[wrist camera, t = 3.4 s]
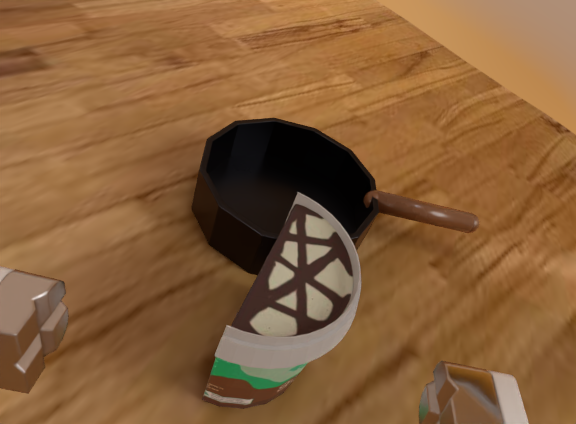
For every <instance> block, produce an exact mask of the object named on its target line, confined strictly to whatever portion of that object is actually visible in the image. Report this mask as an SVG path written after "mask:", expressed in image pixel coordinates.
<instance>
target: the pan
mask: <svg viewBox="0 0 576 424" xmlns="http://www.w3.org/2000/svg"><path fill="white" fill-rule="evenodd" d="M298 192H299V193H301V194H303V195H305V196H307V197H309V198H310V199H312V200H313V201H315V202H317V203H318V204H320V205H321V206H322V207H323V208H325V209H326V210H327V211H328V212H329V213H331V214H332V215H333V216H334V217H335V218H336V219H337V221H338V222H339V223H340V224H341V225H342V226H343V228H344V229H345V230H346V232H347V233H348V235H349V237H350V238H351V240H352V242H353V244H354V246H355V249H356V250H357V249H358V247H359V246H360V244H361V243H362V241H363V239H364V237H365V236H366V234H367V232H368V230H369V229H370V227H371V225H372V223H373V222H374V220H375V218H376V216H377V215H378V213H383V214H388V215H392V216H396V217H401V218H405V219H409V220H414V221H418V222H422V223H427V224H431V225H435V226H439V227H444V228H448V229H452V230H457V231H461V232H465V233H472V232H474V231H476V230H477V229H478V227H479V219H478V217H477V216H476V215H474V214H472V213H469V212H464V211H460V210H456V209H452V208H448V207H444V206H439V205H435V204H431V203H427V202H423V201H419V200H414V199H410V198H406V197H402V196H398V195H393V194H389V193H385V192H381V191H377V190H376V184H375V179H374V178H373V177H372V175H371V174H370V173H369V172H368V170H367V169H366V168H365V167H364V165H363V164H362V163H361V162H360V160H359V159H358V158H357V157H356V155H355V154H354V153H353V151H352V150H350V149H349V148H347V147H345V146H344V145H342V144H340V143H339V142H337V141H335V140H334V139H332V138H331V137H329V136H327V135H326V134H324V133H322V132H321V131H319V130H317V129H315V128H312V127H308V126H304V125H300V124H296V123H292V122H289V121H285V120H281V119H277V118H265V119H253V120H241V121H234V122H233V123H231V124H230V125H228V126H227V127H225V128H223V129H222V130H220V131H219V132H217V133H216V134H214V135H213V136H211V137H209V138H208V139H207V141H206V145H205V149H204V153H203V157H202V161H201V165H200V169H199V174H198V179H197V184H196V189H195V193H194V198H193V203H192V211H193V213H194V215H195V217H196V219H197V221H198V223H199V225H200V227H201V229H202V231H203V233H204V235H205V237H206V239H207V242H208V244H209V245H210V246H212V247H213V248H214V249H216V250H217V251H219V252H220V253H221V254H223V255H224V256H226V257H227V258H229V259H230V260H231V261H233V262H234V263H236V264H237V265H239V266H240V267H241V268H243V269H244V270H246V271H247V272H249V273H251V274H256V275H258V274H259V272H260V270H261V268H262V266H263V264H264V262H265V260H266V258H267V256H268V255H269V253H270V251H271V249H272V247H273V245H274V244H275V242H276V240H277V238H278V236H279V234H280V232H281V230H282V228H283V226H284V225H285V222H286V220H287V217H288V215H289V212H290V210H291V208H292V205H293V203H294V200H295V198H296V195H297V193H298Z"/></svg>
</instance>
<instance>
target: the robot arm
mask: <svg viewBox="0 0 576 424" xmlns="http://www.w3.org/2000/svg"><path fill="white" fill-rule="evenodd" d="M65 294H66V290H65V284H64V282H63V281H61V280H57V279H53V278H49V277H45V276H41V275H36V274H32V273H28V272H24V271H20V270H16V269H15V270H14V269H10V268H6V267H2V266H0V388H1V389H6V390H12V391H17V392H23V393H28V394H29V392H30V390H31V389H32V387H33V386H34V384H35V383H36V381H37V379H38V378H39V376H40V375H41V373H42V372H43V370H44V368H45V362H44V357H45V356H46V355H48V354H50V353H52V352H54V351H55V350H56V349H57V348H58V346H59V344H60V343H61V341H62V339H63V337H64V334H65V331H66V328H67V325H68V317H69V315H68V308H67V306H66V305H65V304H64V303H63V302H62V301H61V300H62V298H63V297H64V295H65ZM433 373H434V381H432V382H430V383H428V384H426V386H425V389H424V391H423V393H422V396H421V400H420V405H419V424H529V422H528V419H527V416H526V412H525V409H524V405H523V402H522V398H521V395H520V392H519V388H518V385H517V381H516V379H515V378H514V377H513V375H508V374H504V373H499V372H494V371H489V370H488V371H487V370H486V369H481V368H476V367H471V366H466V365H461V364H456V363H451V362H446V361H440V362H439V363H438V364H437V365H436V367H435V369H434V371H433Z"/></svg>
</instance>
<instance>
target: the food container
mask: <svg viewBox="0 0 576 424" xmlns="http://www.w3.org/2000/svg"><path fill="white" fill-rule="evenodd" d="M360 292H361V270H360V263H359V258H358V254H357V251H356V249H355V246H354V244H353V242H352V240H351V238H350V237H349V235H348V233H347V232H346V230H345V229H344V228H343V226H342V225H341V224H340V223H339V222H338V221H337V219H336V218H335V217H334V216H333V215H332V214H331V213H329V212H328V211H327V210H326V209H325V208H323V207H322V206H321V205H320V204H318V203H317V202H315V201H313V200H312V199H310V198H309V197H307V196H305V195H303V194H301V193H299V192H298V193H297V195H296V198H295V200H294V203H293V205H292V208H291V210H290V212H289V215H288V217H287V220H286V222H285V225H284V226H283V228H282V230H281V232H280V234H279V236H278V238H277V240H276V242H275V244H274V245H273V247H272V249H271V251H270V253H269V255H268V256H267V258H266V260H265V262H264V264H263V266H262V268H261V270H260V272H259V274H258V276H257V278H256V280H255V281H254V283H253V285H252V287H251V289H250V291H249V293H248V294H247V296H246V298H245V300H244V302H243V304H242V306H241V308H240V310H239V312H238V314H237V315H236V317H235V319H234V321H233V323H232V325H231V326H228V325H227V326H226V328H225V331H224V334H223V336H222V338H221V340H220V343H219V345H218V348H217V350H216V353H215V355H214V356H215V357H216V359H215V362H214V365H213V368H212V371H211V374H210V377H209V380H208V383H207V386H206V389H205V392H204V395H203V398H202V400H204V401H207V402H210V403H212V404H215V405H217V406H222V407H232V408H243V409H244V408H248V407H253V406H257V405H262V404H266V403H268V402H269V401H271V400H272V399H274V398H276V397H277V396H279V395H280V394H282V393H284V391H285V390H286V389H287V388H288V386H289V385H290V384H291V383H292V382H293V380H294V379H295V378H296V377H297V375H298V374H299V373H300V372H301V370H302V369H303V368H304V367H305V366H306V364H307V363H308V362H310V361H312V360H315V359H317V358H319V357H321V356H322V355H324V354H325V353H327V352H329V351H330V350H332V349H333V348H334V347H335V346H336V345H337V344H338V343H339V342H340V341H341V340H342V339H343V337H344V336H345V334H346V333H347V331H348V330H349V329H350V326H351V324H352V322H353V319H354V317H355V313H356V309H357V305H358V301H359V297H360Z"/></svg>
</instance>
